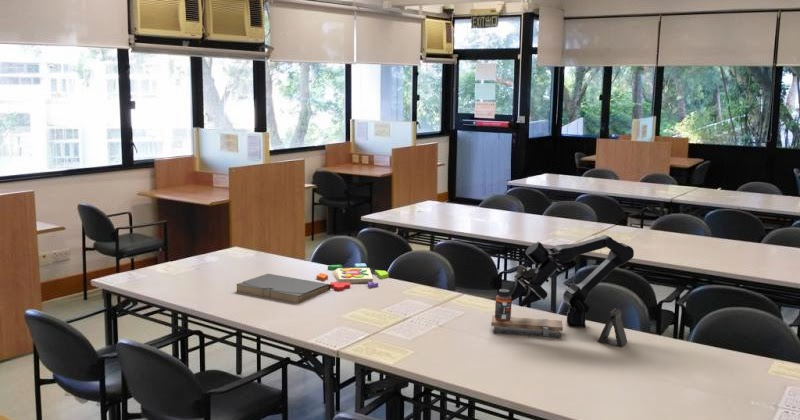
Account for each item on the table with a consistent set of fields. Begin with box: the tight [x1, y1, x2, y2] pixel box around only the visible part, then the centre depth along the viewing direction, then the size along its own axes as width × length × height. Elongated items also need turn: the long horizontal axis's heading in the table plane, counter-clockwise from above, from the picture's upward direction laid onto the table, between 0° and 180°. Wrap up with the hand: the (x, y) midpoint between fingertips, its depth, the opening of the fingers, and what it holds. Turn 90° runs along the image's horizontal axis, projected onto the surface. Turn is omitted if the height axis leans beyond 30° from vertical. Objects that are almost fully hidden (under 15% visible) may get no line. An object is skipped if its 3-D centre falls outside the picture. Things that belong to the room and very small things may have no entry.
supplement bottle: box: [494, 288, 513, 321], centre depth 275 cm, size 6×6×11 cm
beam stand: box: [493, 318, 560, 340], centre depth 275 cm, size 24×11×4 cm, turn 80°
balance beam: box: [490, 315, 564, 332], centre depth 274 cm, size 26×8×2 cm, turn 80°
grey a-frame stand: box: [597, 308, 628, 348], centre depth 264 cm, size 9×6×12 cm, turn 55°
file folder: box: [236, 273, 331, 304], centre depth 320 cm, size 33×4×24 cm
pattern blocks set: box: [316, 262, 389, 292], centre depth 344 cm, size 38×34×3 cm
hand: (515, 302), depth 276 cm, fingers open, 9 cm apart
